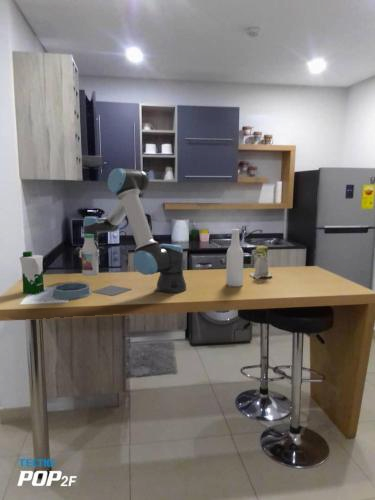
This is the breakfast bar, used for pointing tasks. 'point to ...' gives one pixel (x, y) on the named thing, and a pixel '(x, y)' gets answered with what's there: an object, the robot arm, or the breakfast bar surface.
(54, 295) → the bowl
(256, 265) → the figurine
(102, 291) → the mat
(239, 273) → the alcohol
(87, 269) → the milk bottle
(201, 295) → the breakfast bar surface
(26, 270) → the milk carton
